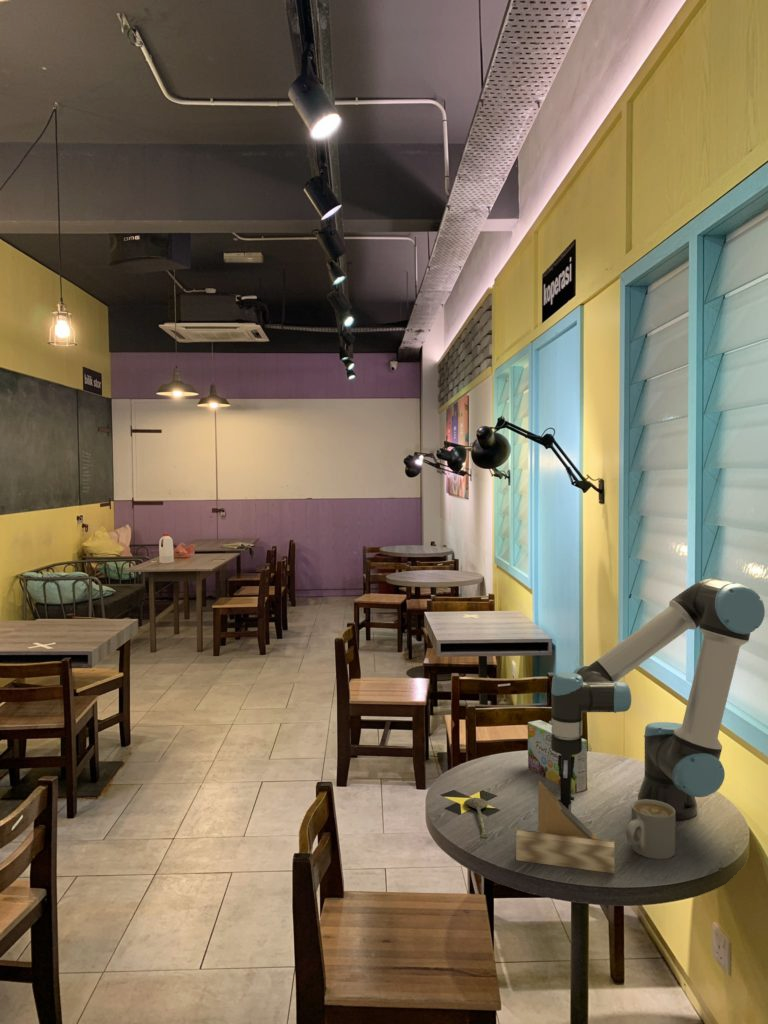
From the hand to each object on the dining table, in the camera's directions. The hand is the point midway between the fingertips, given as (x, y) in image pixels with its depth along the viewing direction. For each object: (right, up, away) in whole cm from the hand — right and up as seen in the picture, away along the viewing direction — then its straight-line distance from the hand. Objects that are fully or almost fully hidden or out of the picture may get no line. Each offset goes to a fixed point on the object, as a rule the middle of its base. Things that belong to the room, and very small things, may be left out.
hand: (565, 827), depth 182 cm
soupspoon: (-21, -2, +9) cm, 23 cm away
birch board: (-4, -2, -15) cm, 16 cm away
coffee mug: (+18, -2, -9) cm, 20 cm away
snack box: (+6, -1, +34) cm, 35 cm away
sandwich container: (0, -2, -7) cm, 7 cm away
